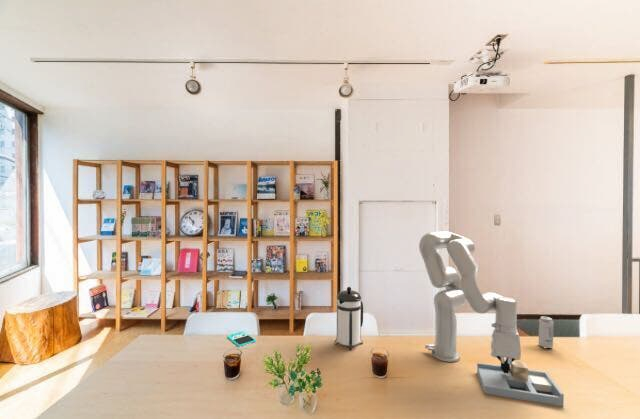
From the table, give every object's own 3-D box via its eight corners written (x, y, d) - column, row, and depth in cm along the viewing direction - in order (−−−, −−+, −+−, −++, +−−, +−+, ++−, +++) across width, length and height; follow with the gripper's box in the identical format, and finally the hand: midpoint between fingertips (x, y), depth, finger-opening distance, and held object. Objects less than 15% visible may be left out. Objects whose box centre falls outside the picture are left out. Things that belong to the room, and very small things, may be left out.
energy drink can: (548, 350, 160) (548, 320, 160) (535, 345, 166) (536, 316, 166) (555, 348, 163) (556, 319, 162) (543, 343, 168) (543, 315, 168)
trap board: (484, 393, 124) (484, 382, 124) (477, 372, 139) (477, 362, 139) (563, 406, 116) (563, 394, 116) (546, 382, 132) (546, 372, 132)
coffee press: (366, 351, 159) (367, 291, 158) (334, 350, 159) (335, 290, 158) (362, 336, 176) (363, 282, 176) (333, 336, 176) (334, 282, 176)
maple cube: (513, 378, 129) (513, 366, 129) (510, 372, 134) (510, 360, 134) (527, 380, 128) (528, 368, 127) (523, 374, 132) (524, 362, 132)
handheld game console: (243, 332, 181) (243, 330, 181) (257, 342, 169) (257, 340, 169) (226, 337, 175) (226, 335, 175) (239, 348, 163) (239, 345, 163)
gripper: (487, 329, 131) (486, 373, 131) (529, 333, 126) (528, 379, 126) (483, 322, 138) (483, 364, 138) (523, 326, 133) (523, 370, 133)
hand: (505, 371), depth 132 cm, fingers closed
